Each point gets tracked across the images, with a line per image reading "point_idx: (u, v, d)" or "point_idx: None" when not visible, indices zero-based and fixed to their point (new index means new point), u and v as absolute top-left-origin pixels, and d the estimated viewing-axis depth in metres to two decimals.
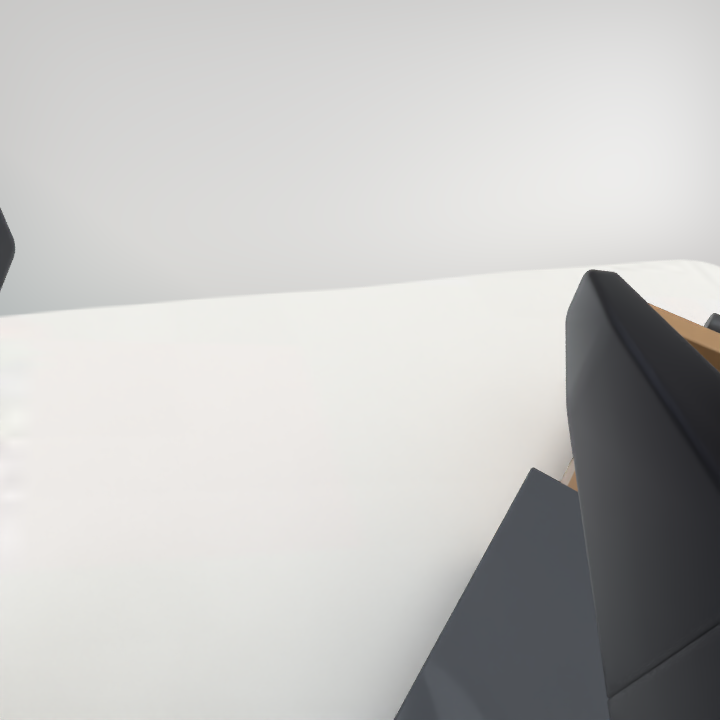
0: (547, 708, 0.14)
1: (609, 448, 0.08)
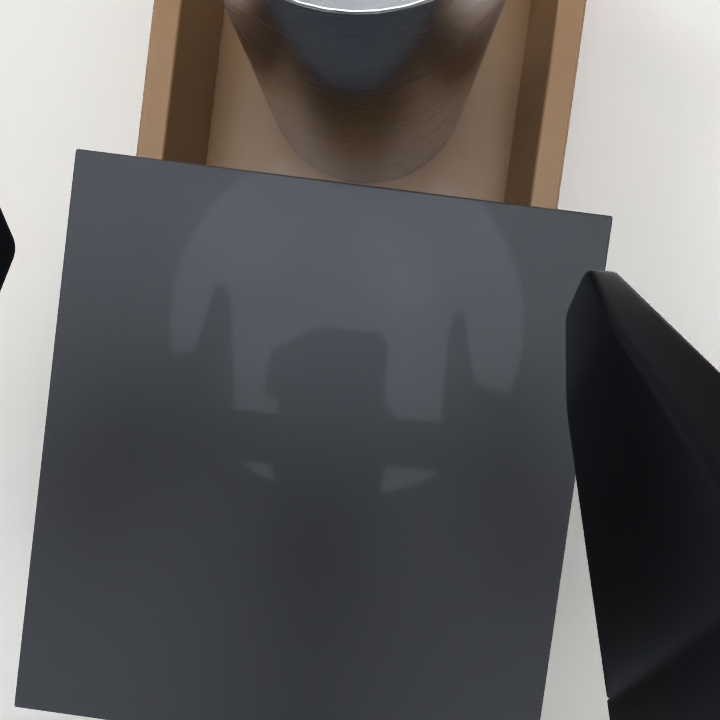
0: (154, 385, 0.16)
1: (610, 448, 0.08)
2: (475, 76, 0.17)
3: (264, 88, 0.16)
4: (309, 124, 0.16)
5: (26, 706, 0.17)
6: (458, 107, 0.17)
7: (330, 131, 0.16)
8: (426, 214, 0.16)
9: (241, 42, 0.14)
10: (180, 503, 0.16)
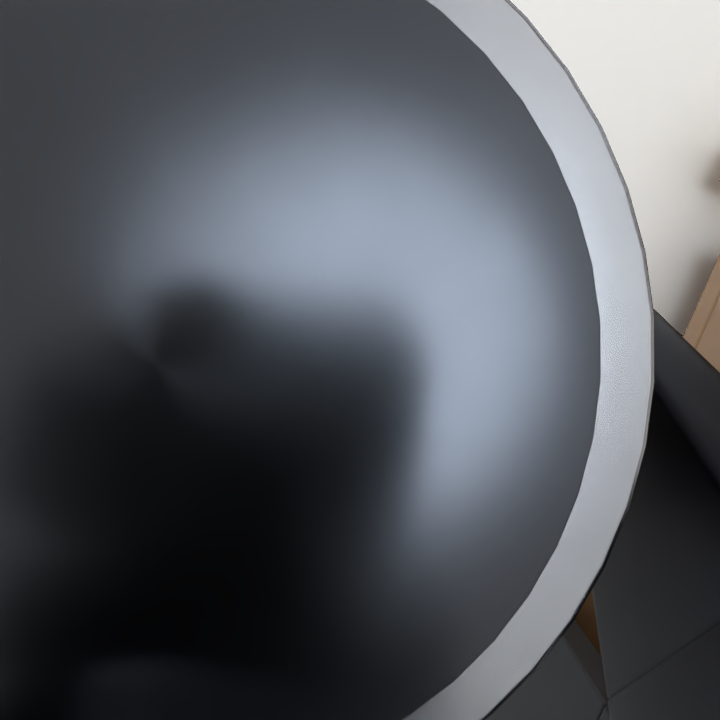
0: None
1: None
2: None
3: None
4: None
5: None
6: None
7: None
8: None
9: None
10: None
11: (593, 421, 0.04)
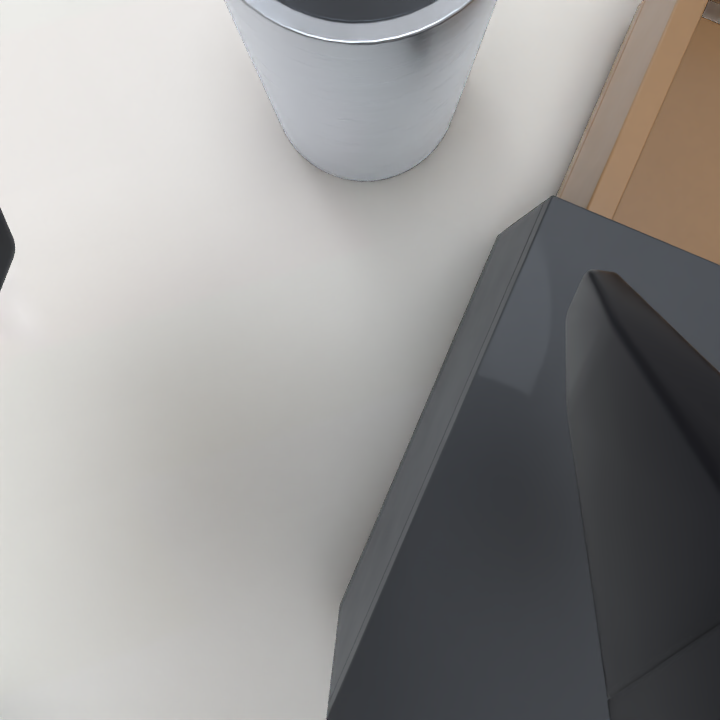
0: (560, 449, 0.16)
1: (609, 448, 0.08)
2: (464, 85, 0.18)
3: (271, 97, 0.18)
4: (312, 130, 0.18)
5: None
6: (449, 113, 0.19)
7: (331, 136, 0.18)
8: None
9: (251, 57, 0.16)
10: (550, 570, 0.16)
11: None
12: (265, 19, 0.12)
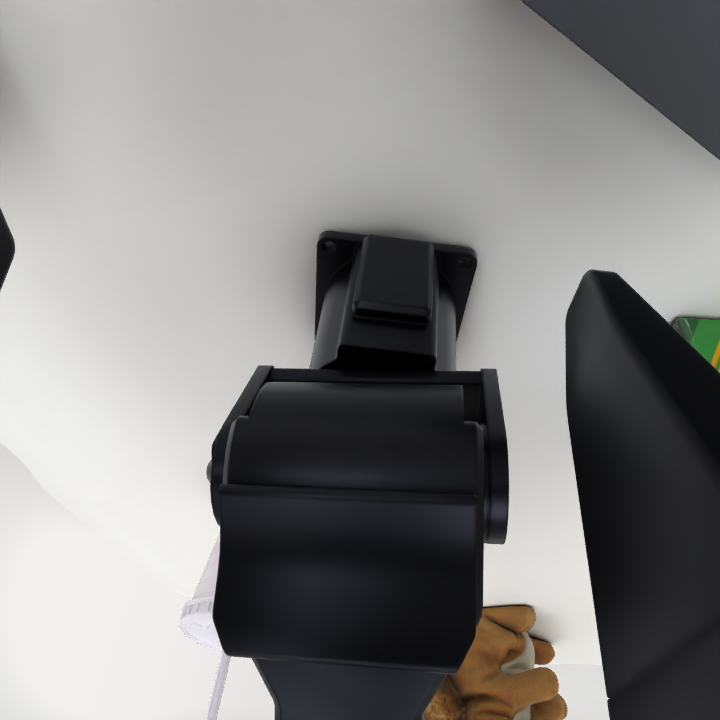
0: None
1: (609, 448, 0.08)
2: None
3: None
4: None
5: None
6: None
7: None
8: None
9: None
10: None
11: None
12: None
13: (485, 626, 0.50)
